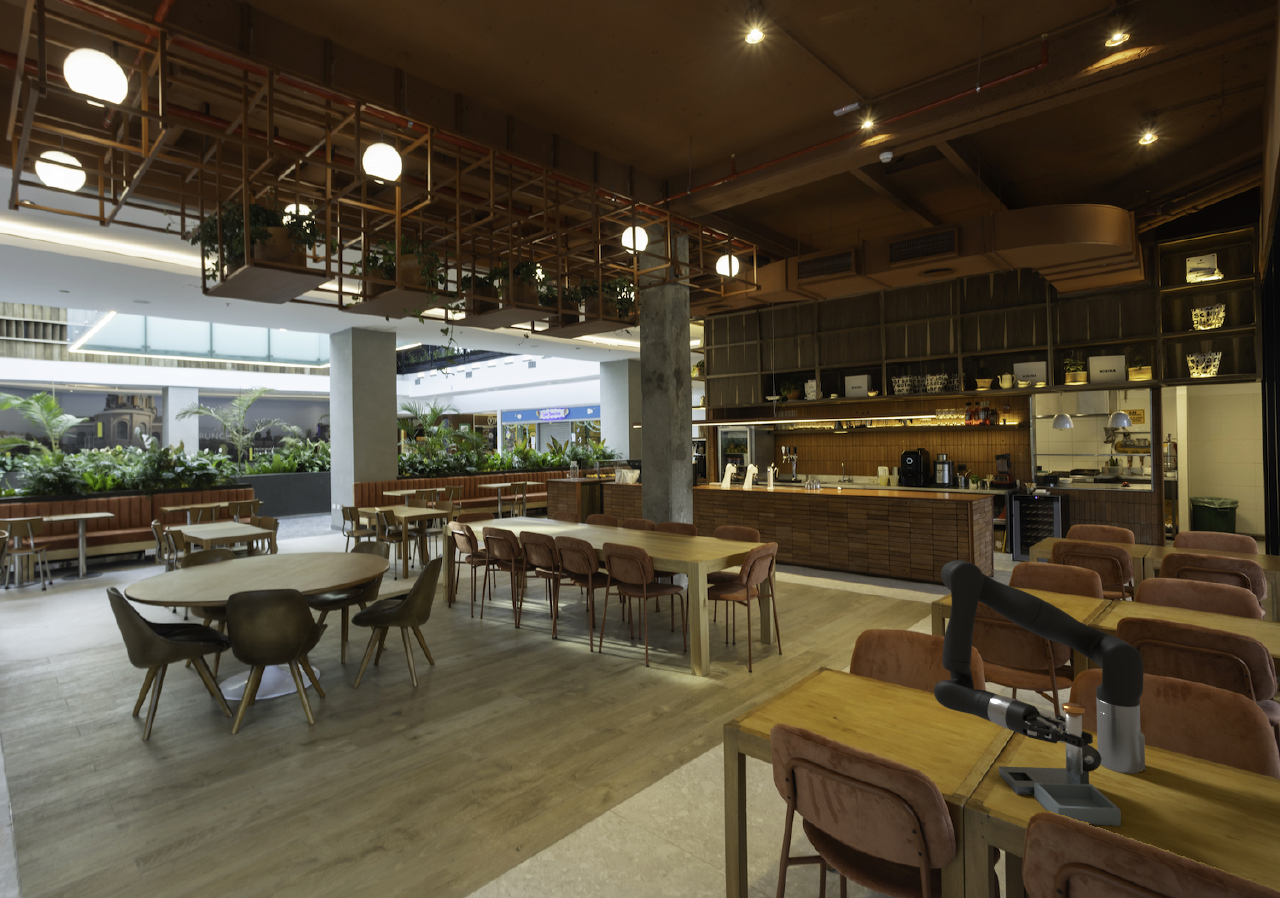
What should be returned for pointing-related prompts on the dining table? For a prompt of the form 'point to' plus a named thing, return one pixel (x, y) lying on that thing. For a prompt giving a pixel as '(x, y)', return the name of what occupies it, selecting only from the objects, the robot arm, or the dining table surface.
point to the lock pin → (1073, 727)
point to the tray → (1078, 802)
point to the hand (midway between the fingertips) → (1087, 741)
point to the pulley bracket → (1050, 773)
